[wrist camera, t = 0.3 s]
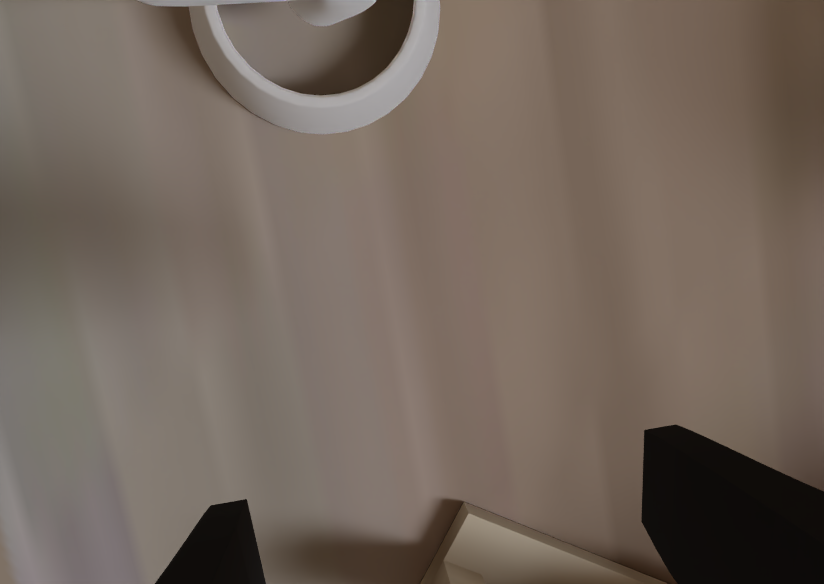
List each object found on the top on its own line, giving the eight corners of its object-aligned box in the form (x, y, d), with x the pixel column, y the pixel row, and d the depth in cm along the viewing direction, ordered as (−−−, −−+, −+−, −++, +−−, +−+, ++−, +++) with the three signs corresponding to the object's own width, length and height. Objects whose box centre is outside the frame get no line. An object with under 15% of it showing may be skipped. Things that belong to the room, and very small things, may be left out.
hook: (-119, 46, 13) (-108, -344, 9) (238, 4, 23) (326, -195, 18) (133, 287, 13) (265, 14, 9) (384, 145, 23) (507, -21, 19)
